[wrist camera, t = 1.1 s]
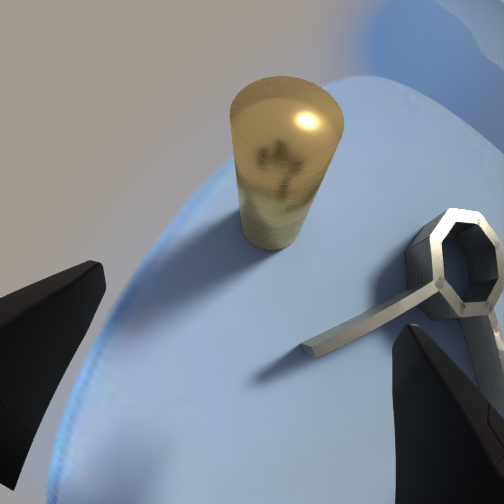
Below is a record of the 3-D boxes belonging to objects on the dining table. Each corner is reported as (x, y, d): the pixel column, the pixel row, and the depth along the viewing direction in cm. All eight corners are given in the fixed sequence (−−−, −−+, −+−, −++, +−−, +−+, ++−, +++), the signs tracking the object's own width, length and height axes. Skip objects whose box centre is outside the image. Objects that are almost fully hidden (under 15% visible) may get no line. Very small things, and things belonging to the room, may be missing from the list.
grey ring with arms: (428, 474, 17) (451, 490, 13) (297, 345, 21) (307, 349, 17) (526, 333, 20) (552, 330, 16) (429, 200, 23) (452, 181, 19)
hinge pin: (269, 263, 22) (289, 184, 10) (229, 220, 23) (206, 112, 11) (312, 224, 23) (365, 121, 11) (271, 185, 24) (285, 63, 11)
